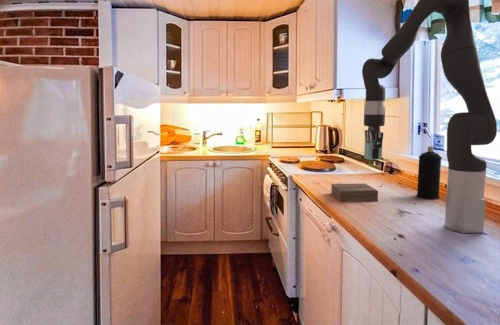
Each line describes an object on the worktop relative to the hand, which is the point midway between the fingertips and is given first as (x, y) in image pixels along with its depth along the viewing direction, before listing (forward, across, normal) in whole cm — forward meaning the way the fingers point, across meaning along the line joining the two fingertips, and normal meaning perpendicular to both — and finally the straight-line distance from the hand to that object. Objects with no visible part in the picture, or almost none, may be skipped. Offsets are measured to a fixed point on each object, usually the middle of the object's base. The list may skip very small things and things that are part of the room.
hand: (372, 157), depth 140 cm
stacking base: (+16, +2, +6) cm, 17 cm away
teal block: (0, 0, 0) cm, 0 cm away
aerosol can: (+16, 0, -23) cm, 28 cm away
